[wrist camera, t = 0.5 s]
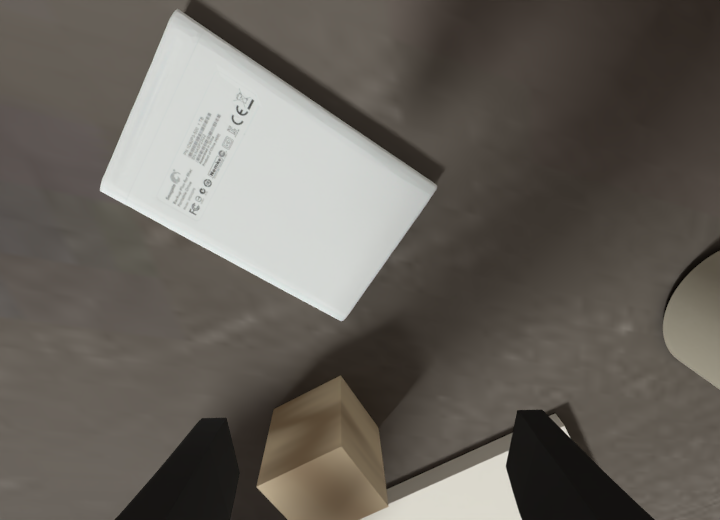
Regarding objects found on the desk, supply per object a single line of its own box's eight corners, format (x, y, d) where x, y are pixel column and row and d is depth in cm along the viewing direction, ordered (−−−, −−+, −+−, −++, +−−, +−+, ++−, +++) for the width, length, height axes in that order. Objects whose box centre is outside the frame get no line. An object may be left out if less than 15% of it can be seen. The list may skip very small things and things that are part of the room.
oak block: (314, 457, 23) (309, 541, 19) (273, 408, 22) (256, 486, 17) (378, 427, 23) (388, 506, 18) (340, 374, 21) (341, 446, 17)
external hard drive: (341, 309, 21) (115, 186, 18) (431, 180, 18) (189, 15, 15) (341, 324, 19) (94, 192, 16) (439, 186, 17) (173, 4, 14)
